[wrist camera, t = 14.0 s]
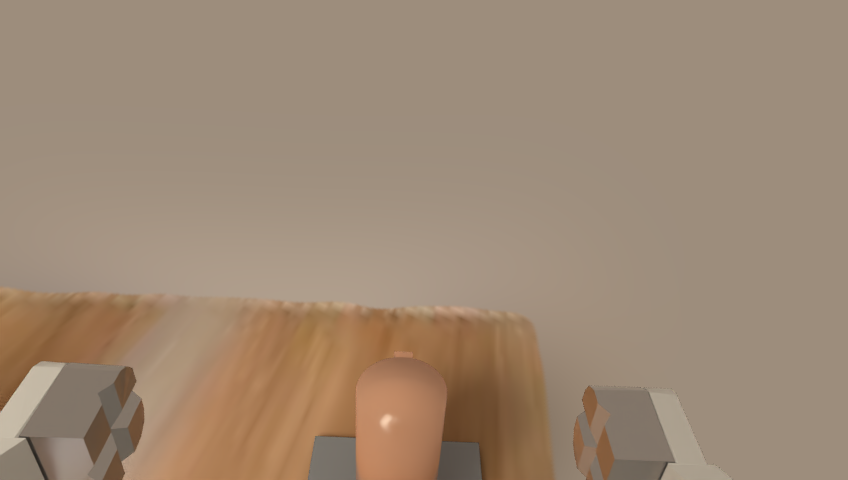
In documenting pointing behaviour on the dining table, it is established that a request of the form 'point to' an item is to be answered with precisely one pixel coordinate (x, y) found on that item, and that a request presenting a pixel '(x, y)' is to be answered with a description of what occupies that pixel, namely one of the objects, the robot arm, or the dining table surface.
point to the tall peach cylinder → (399, 420)
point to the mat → (338, 460)
